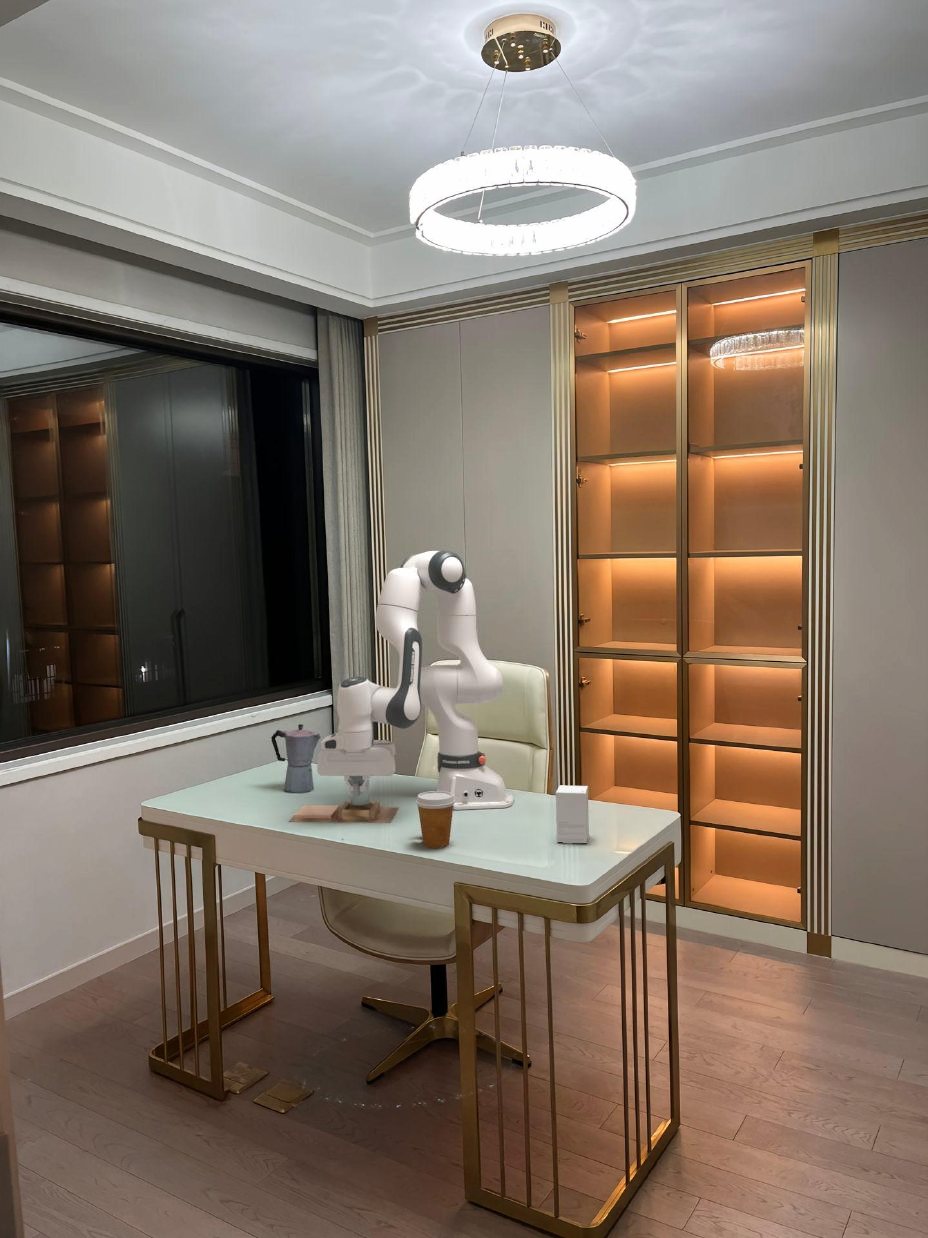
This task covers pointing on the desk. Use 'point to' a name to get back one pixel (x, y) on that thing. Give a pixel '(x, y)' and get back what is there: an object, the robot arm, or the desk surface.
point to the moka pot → (298, 758)
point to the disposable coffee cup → (435, 817)
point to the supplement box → (572, 814)
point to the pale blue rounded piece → (357, 796)
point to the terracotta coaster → (316, 811)
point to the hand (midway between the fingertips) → (357, 791)
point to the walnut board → (357, 814)
